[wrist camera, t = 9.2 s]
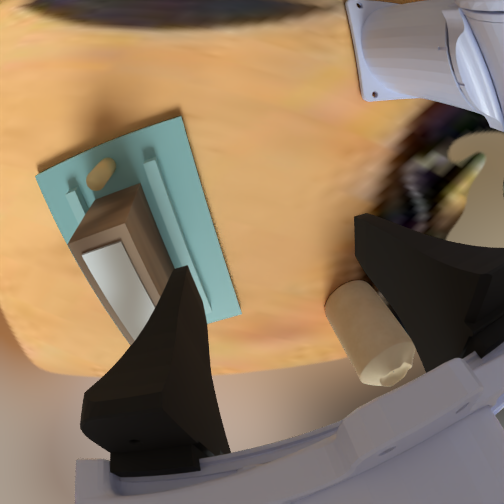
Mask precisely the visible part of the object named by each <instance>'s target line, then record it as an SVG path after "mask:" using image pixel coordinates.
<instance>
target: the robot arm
mask: <svg viewBox="0 0 504 504" xmlns="http://www.w3.org/2000/svg"><path fill="white" fill-rule="evenodd" d="M357 3H358V4H359V5H360V8H358V7H357ZM345 6H346V11H347V15H348V19H349V24H350V29H351V34H352V39H353V44H354V50H355V56H356V62H357V68H358V74H359V81H360V89H361V96H362V98H363V100H365V101H369V102H371V101H381V100H394V99H409V98H424V99H429V100H433V101H437V102H441V103H445V104H449V105H452V106H456V107H460V108H463V109H466V110H470V111H473V112H476V113H479V114H482V115H484V116H485V117H486V119H487V120H488V123H489V125H490V127H492V128H495V129H497V130H500V131H502V132H504V0H424V1H417V2H411V3H405V4H396V3H389V2H381V1H371V0H347V1H346V3H345ZM373 92H375V96H374V97H373V96H372V93H373ZM354 226H355V256H356V258H357V260H358V261H359V263H360V265H361V267H362V268H363V270H364V271H365V273H366V274H367V276H368V277H369V278H370V279H371V281H372V282H373V283H374V284H375V286H376V287H377V288H378V289H379V291H380V292H381V293H382V294H383V296H384V297H385V298H386V300H387V301H388V302H389V303H390V305H391V306H392V307H393V309H394V310H395V312H396V313H397V315H398V316H399V318H400V320H401V321H402V323H403V325H404V327H405V328H406V330H407V332H408V334H409V336H410V338H411V340H412V342H413V344H414V346H415V348H416V350H417V352H418V354H419V356H420V359H421V361H422V363H423V366H424V368H425V371H426V374H424V375H422V376H420V377H418V378H416V379H414V380H413V381H411V382H409V383H407V384H405V385H403V386H401V387H399V388H397V389H394V390H392V391H390V392H388V393H386V394H384V395H382V396H380V397H377V398H375V399H373V400H371V401H370V402H368V403H366V404H364V405H362V406H361V407H358V408H357V409H356V410H355V411H353V412H352V413H351V414H349V415H348V416H346V417H345V418H344V419H343V420H341V421H338V422H336V423H333V424H331V425H328V426H325V427H322V428H319V429H316V430H313V431H310V432H307V433H304V434H301V435H298V436H295V437H292V438H288V439H285V440H281V441H278V442H274V443H271V444H267V445H263V446H259V447H255V448H251V449H247V450H243V451H238V452H233V453H231V451H230V448H229V445H228V442H227V438H226V435H225V431H224V427H223V423H222V419H221V416H220V412H219V407H218V403H217V399H216V394H215V390H214V386H213V380H212V375H211V368H210V356H209V343H208V329H207V320H206V315H205V310H204V305H203V301H202V298H201V296H200V294H199V291H198V289H197V287H196V284H195V282H194V279H193V277H192V275H191V272H190V270H189V267H188V265H186V266H183V267H179V268H176V269H173V271H172V273H171V275H170V277H169V280H168V282H167V284H166V286H165V288H164V291H163V293H162V295H161V297H160V299H159V301H158V303H157V305H156V307H155V309H154V311H153V313H152V314H151V316H150V318H149V320H148V322H147V323H146V325H145V326H144V328H143V330H142V331H141V332H140V334H139V335H138V337H137V338H136V340H135V341H134V342H133V344H132V345H131V346H130V347H129V349H128V350H127V351H126V352H125V354H124V355H123V356H122V357H121V358H120V360H119V361H118V362H117V363H116V364H115V365H114V366H113V367H112V368H111V369H110V370H109V371H108V372H107V373H106V374H105V375H104V376H103V377H102V378H101V379H100V380H99V381H97V382H96V383H95V384H94V385H93V386H92V387H91V388H89V389H88V390H87V391H86V392H85V393H84V399H83V405H82V413H81V423H80V428H81V430H82V432H83V433H84V434H85V435H86V436H87V437H88V438H89V439H90V440H92V441H93V442H95V443H96V444H98V445H99V446H101V447H102V448H104V449H106V450H107V451H108V452H110V453H111V454H110V461H109V460H105V459H77V460H76V476H75V504H504V429H503V428H502V426H501V424H500V423H499V421H498V420H497V418H496V416H495V415H496V414H497V413H498V412H499V411H500V410H501V409H503V408H504V248H488V247H479V246H471V245H465V244H460V243H455V242H451V241H447V240H443V239H439V238H435V237H432V236H429V235H426V234H423V233H420V232H417V231H414V230H411V229H409V228H406V227H403V226H401V225H398V224H396V223H393V222H390V221H388V220H385V219H383V218H380V217H377V216H374V215H371V214H368V213H365V214H362V215H358V216H355V217H354Z"/></svg>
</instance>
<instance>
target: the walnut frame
mask: <svg viewBox="0 0 504 504" xmlns="http://www.w3.org/2000/svg"><path fill="white" fill-rule="evenodd" d="M67 245H68V247H69V248H70V250H71V252H72V254H73V256H74V258H75V259H76V261H77V263H78V265H79V266H80V268H81V270H82V272H83V273H84V275H85V277H86V278H87V280H88V282H89V283H90V285H91V287H92V288H93V290H94V292H95V293H96V295H97V296H98V298H99V300H100V301H101V303H102V304H103V306H104V307H105V309H106V310H107V312H108V313H109V315H110V316H111V318H112V319H113V321H114V322H115V324H116V325H117V327H118V328H119V330H120V331H121V332H122V334H123V335H124V337H125V338H126V339H127V341H128V342H129V344H130V345H132V344H133V342H134V341H135V340H136V338H137V337H138V335H139V334H140V332H141V331H142V330H143V328H144V326H145V325H146V323H147V322H148V320H149V318H150V316H151V314H152V313H153V311H154V309H155V307H156V305H157V303H158V301H159V299H160V297H161V295H162V293H163V291H164V288H165V286H166V284H167V282H168V280H169V277H170V275H171V273H172V271H173V269H175V268H174V265H173V263H172V261H171V259H170V256H169V254H168V251H167V249H166V247H165V244H164V242H163V239H162V237H161V235H160V232H159V230H158V227H157V225H156V222H155V220H154V217H153V215H152V212H151V210H150V207H149V204H148V202H147V199H146V196H145V194H144V191H143V188H142V186H141V183H139V184H136V185H133V186H130V187H128V188H125V189H122V190H119V191H117V192H114V193H111V194H109V195H106V196H104V197H101V198H98V199H96V200H94V202H93V203H92V205H91V206H90V208H89V210H88V211H87V213H86V214H85V216H84V217H83V219H82V221H81V222H80V224H79V226H78V227H77V229H76V230H75V232H74V234H73V236H72V237H71V239H70V241H69V242H68V244H67Z"/></svg>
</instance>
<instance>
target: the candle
mask: <svg viewBox="0 0 504 504" xmlns="http://www.w3.org/2000/svg"><path fill="white" fill-rule="evenodd" d="M325 314H326V317H327V319H328V321H329V323H330V324H331V326H332V328H333V330H334V332H335V334H336V335H337V337H338V339H339V341H340V343H341V345H342V346H343V348H344V350H345V352H346V354H347V356H348V358H349V359H350V361H351V363H352V365H353V367H354V369H355V371H356V372H357V375H358V377H359V378H360V380H361V382H363V383H365V384H369V385H378V386H388V387H390V386H393V385H394V384H396V383H397V382H398V381H400V380H401V379H402V378H403V377H405V375H406V373H407V371H408V369H410V368H411V367H412V363H413V357H414V353H415V346H414V344H413V342H412V340H411V339H410V337H409V336H408V334H407V333H406V332H405V330H404V329H403V327H402V326H401V325H400V323H399V322H398V321H397V319H396V318H395V317H394V315H393V314H392V313H391V311H390V310H389V309H388V307H387V306H386V305H385V303H384V302H383V301H382V299H381V298H380V297H379V295H378V294H377V293H376V292H375V290H374V289H373V288H372V287H371V286H370V285H369V284H368V283H367V282H365V281H362V280H355V281H350V282H348V283H345V284H343V285H342V286H340V287H339V288H337V289H336V290H335V291H334V292H333V293H332V294H331V295H330V297H329V298H328V300H327V302H326V305H325Z"/></svg>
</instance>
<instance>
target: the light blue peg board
mask: <svg viewBox="0 0 504 504" xmlns="http://www.w3.org/2000/svg"><path fill="white" fill-rule="evenodd" d="M35 177H36V180H37V182H38V185H39V187H40V189H41V192H42V194H43V196H44V198H45V201H46V203H47V205H48V207H49V209H50V211H51V213H52V216H53V218H54V220H55V222H56V224H57V226H58V228H59V230H60V232H61V234H62V236H63V238H64V239H65V241H66V243H67V244H68V242H69V241H70V239H71V237H72V236H73V234H74V232H75V230H76V229H77V227H78V226H79V224H80V222H81V221H82V219H83V217H84V216H85V214H86V213H87V211H88V210H89V208H90V206H91V205H92V203H93V202H94V200H96V199H98V198H101V197H104V196H106V195H109V194H111V193H114V192H117V191H119V190H122V189H125V188H128V187H130V186H133V185H136V184H139V183H141V186H142V188H143V191H144V194H145V196H146V199H147V202H148V204H149V207H150V210H151V212H152V215H153V217H154V220H155V222H156V225H157V227H158V230H159V232H160V235H161V237H162V239H163V242H164V244H165V247H166V249H167V251H168V254H169V256H170V259H171V261H172V263H173V265H174V268H175V269H176V268H179V267H183V266H186V265H188V267H189V270H190V272H191V275H192V277H193V279H194V282H195V284H196V287H197V289H198V291H199V294H200V296H201V298H202V301H203V305H204V310H205V315H206V320H207V324H208V323H212V322H215V321H219V320H223V319H226V318H230V317H233V316H237V315H240V314H242V312H241V309H240V306H239V303H238V300H237V297H236V294H235V291H234V288H233V285H232V281H231V278H230V275H229V272H228V269H227V266H226V263H225V260H224V257H223V253H222V250H221V247H220V244H219V241H218V238H217V234H216V231H215V228H214V225H213V222H212V218H211V215H210V212H209V208H208V205H207V202H206V199H205V195H204V192H203V189H202V185H201V182H200V179H199V175H198V172H197V169H196V165H195V162H194V158H193V155H192V151H191V148H190V145H189V141H188V138H187V134H186V131H185V127H184V123H183V120H182V116H178V117H175V118H172V119H169V120H166V121H163V122H160V123H157V124H154V125H151V126H148V127H145V128H142V129H139V130H137V131H134V132H131V133H128V134H126V135H123V136H121V137H118V138H115V139H113V140H110V141H108V142H105V143H103V144H101V145H98V146H96V147H94V148H91V149H89V150H87V151H84V152H82V153H80V154H78V155H76V156H73V157H71V158H69V159H67V160H65V161H63V162H61V163H59V164H57V165H55V166H53V167H51V168H49V169H47V170H45V171H43V172H41V173H39V174H37V175H36V176H35ZM69 249H70V248H69ZM70 251H71V250H70ZM71 253H72V252H71ZM75 260H76V259H75ZM76 262H77V261H76ZM79 267H80V266H79ZM80 269H81V268H80ZM83 274H84V273H83ZM86 279H87V278H86ZM87 281H88V280H87ZM89 284H90V283H89ZM92 289H93V288H92ZM95 294H96V293H95ZM97 297H98V296H97ZM100 302H101V301H100ZM102 305H103V304H102ZM104 308H105V307H104ZM106 311H107V310H106ZM108 314H109V313H108ZM110 317H111V316H110ZM112 320H113V319H112ZM114 323H115V322H114ZM116 326H117V325H116ZM121 333H122V332H121ZM123 336H124V335H123ZM126 340H127V339H126ZM128 343H129V342H128Z"/></svg>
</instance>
